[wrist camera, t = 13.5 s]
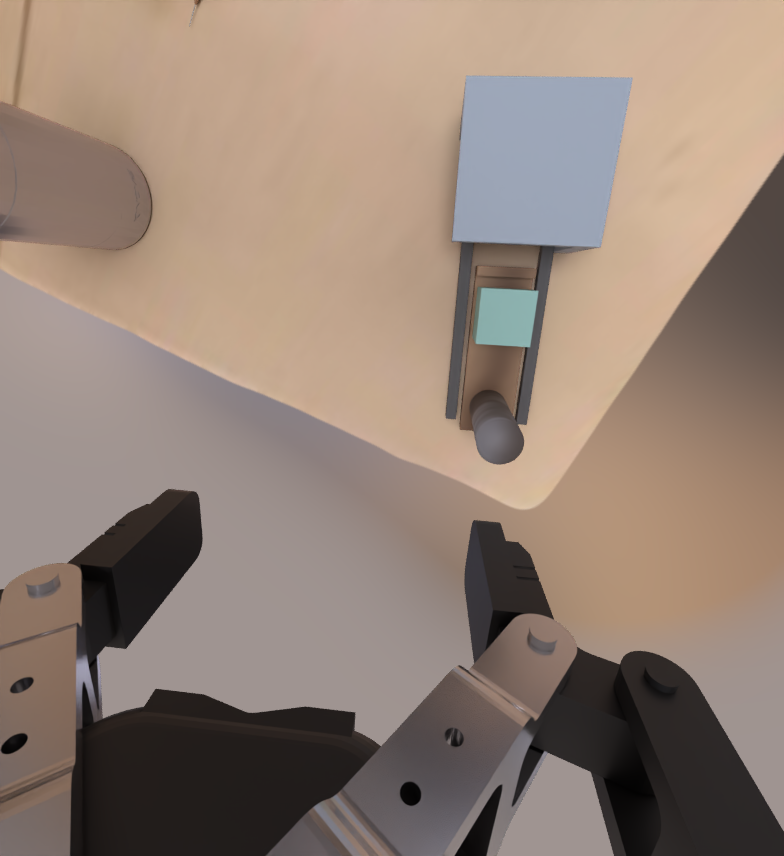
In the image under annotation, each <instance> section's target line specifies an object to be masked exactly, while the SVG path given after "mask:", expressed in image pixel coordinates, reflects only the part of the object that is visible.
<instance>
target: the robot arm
mask: <svg viewBox="0 0 784 856" xmlns="http://www.w3.org/2000/svg"><path fill="white" fill-rule="evenodd" d="M150 215H151V198H150V193H149V188H148V186H147V183H146V181H145V178H144V176H143V174H142V173H141V171H140V169H139V168H138V166H137V165H136V164H135V163H134V161H133V160H132V159H131V158H130V157H129V156H128V155H127V154H125V153H124V152H123V151H122V150H120V149H118V148H116V147H114V146H112V145H110V144H108V143H105V142H102V141H100V140H97V139H95V138H92V137H90V136H87V135H85V134H82V133H80V132H78V131H75V130H73V129H70V128H68V127H65V126H63V125H60V124H58V123H55V122H53V121H50V120H48V119H45V118H43V117H40V116H38V115H35V114H32V113H30V112H27V111H25V110H22V109H20V108H17V107H15V106H12V105H10V104H7V103H5V102H2V101H0V240H3V241H15V242H27V243H39V244H51V245H63V246H75V247H85V248H98V249H112V250H118V249H124V248H127V247H129V246H131V245H133V244H135V243H136V242H137V241H138V240H139V239H140V238H141V237H142V235H143V234H144V232H145V231H146V229H147V226H148V224H149V221H150ZM201 547H202V527H201V514H200V503H199V497H198V494H197V493H196V492H194V491H184V490H174V489H168V490H166V491H165V492H164V493H162V494H161V495H160V496H159V497H158V498H157V499H155V500H154V501H153V502H152V503H151V504H146V505H144V506H142V507H140V508H137V509H135V510H133V511H131V512H129V513H128V514H126V515H125V516H124V517H123V518H122V519H120V520H119V521H118V522H117V523H116V525H115V526H112V527H111V528H109V529H108V530H107V531H106V532H105V534H104V535H101V536H100V537H98V538H97V539H96V540H95V541H94V542H92V543H91V544H90V545H89V546H87V547H86V548H85V549H84V550H83V551H82V552H80V553H79V554H78V555H76V556H75V557H74V558H73V559H72V560H70V561H69V562H68V563H56V564H49V565H45V566H41V567H38V568H35V569H32V570H30V571H27V572H25V573H24V574H21V575H20V576H18V577H16V578H15V579H14V580H12V581H11V582H10V583H9V584H8V585H7V586H6V587H5V589H1V590H0V856H497V853H498V851H499V849H500V846H501V844H502V841H503V838H504V836H505V833H506V831H507V829H508V826H509V824H510V822H511V820H512V818H513V816H514V815H515V813H516V811H517V809H518V807H519V805H520V803H521V802H522V800H523V797H524V796H525V794H526V792H527V791H528V789H529V787H530V785H531V783H532V781H533V779H534V778H535V776H536V774H537V772H538V770H539V768H540V766H541V765H542V763H543V761H544V759H545V757H546V755H547V754H548V753H550V754H552V755H554V756H557V757H559V758H561V759H563V760H566V761H568V762H570V763H572V764H574V765H577V766H579V767H581V768H584V769H586V770H588V771H590V772H591V774H592V777H593V781H594V784H595V788H596V792H597V795H598V799H599V803H600V806H601V810H602V813H603V817H604V821H605V824H606V828H607V832H608V835H609V839H610V843H611V846H612V850H613V854H614V856H784V831H783V830H782V828H781V826H780V825H779V823H778V821H777V819H776V818H775V816H774V814H773V813H772V811H771V809H770V808H769V806H768V804H767V803H766V801H765V799H764V797H763V796H762V794H761V792H760V791H759V789H758V787H757V785H756V784H755V782H754V780H753V779H752V777H751V775H750V774H749V772H748V770H747V769H746V767H745V765H744V763H743V762H742V760H741V758H740V757H739V755H738V753H737V752H736V750H735V748H734V747H733V745H732V743H731V741H730V740H729V738H728V736H727V735H726V733H725V731H724V729H723V728H722V726H721V725H720V723H719V721H718V719H717V718H716V716H715V714H714V712H713V711H712V709H711V708H710V706H709V704H708V702H707V701H706V699H705V697H704V696H703V694H702V692H701V690H700V689H699V687H698V686H697V684H696V683H695V681H694V680H693V679H692V678H691V677H690V675H688V674H687V673H686V672H685V671H684V670H683V669H682V668H681V667H679V666H678V665H676V664H675V663H673V662H672V661H670V660H668V659H666V658H664V657H662V656H660V655H657V654H654V653H650V652H645V651H633V652H630V653H628V654H626V655H625V656H624V657H623V659H622V660H621V663H620V665H619V664H617V663H614V662H611V661H608V660H605V659H603V658H600V657H597V656H594V655H592V654H589V653H587V652H585V651H583V650H581V649H580V648H578V647H577V644H576V642H575V639H574V638H573V636H572V635H571V633H570V632H569V631H568V630H567V629H566V628H565V627H564V626H563V625H561V624H560V623H558V622H557V621H555V620H554V618H553V615H552V613H551V610H550V608H549V605H548V602H547V599H546V596H545V594H544V591H543V588H542V586H541V583H540V582H539V578H538V575H537V572H536V570H535V567H534V564H533V561H532V558H531V556H530V554H529V553H528V552H527V551H526V550H525V549H524V548H523V547H522V546H521V545H520V544H519V543H518V542H509V541H506V540H505V537H504V533H503V530H502V527H501V524H500V523H498V522H488V521H477V520H474V521H473V523H472V527H471V534H470V540H469V546H468V553H467V559H466V566H465V594H466V602H467V609H468V618H469V626H470V633H471V642H472V650H473V658H474V665H473V666H472V667H471V668H470V669H469V670H466V669H465V668H463V667H462V666H457V667H455V668H453V669H452V670H451V671H450V672H449V673H448V674H447V675H446V676H445V678H444V679H443V680H442V681H441V682H440V683H439V684H438V685H437V686H436V688H434V690H433V691H432V692H431V693H430V694H429V695H428V696H427V697H426V698H425V699H424V700H423V702H422V703H421V704H420V705H419V706H418V707H417V708H416V709H415V710H414V711H413V712H412V714H411V715H410V716H409V717H408V718H407V719H406V720H405V721H404V722H403V723H402V724H401V725H400V727H399V728H398V729H397V730H396V731H395V732H394V733H393V734H392V735H391V736H390V737H389V738H388V740H387V741H386V742H385V743H384V744H383V745H382V746H380V745H378V744H377V743H376V742H375V741H373V740H372V739H370V738H368V737H366V736H365V735H363V734H361V733H358V732H356V731H354V727H355V713H354V712H345V711H338V710H329V709H320V708H312V707H299V708H291V709H283V710H275V711H268V712H259V713H247V712H244V711H242V710H239V709H237V708H235V707H232V706H230V705H228V704H225V703H223V702H220V701H218V700H215V699H213V698H211V697H209V696H206V695H202V694H195V693H187V692H178V691H169V690H161V689H155V691H154V692H153V694H152V695H151V697H150V699H149V700H148V702H147V703H146V705H145V706H144V707H140V708H135V709H131V710H126V711H123V712H120V713H117V714H114V715H111V716H108V717H106V718H104V719H103V715H102V695H101V676H100V675H101V674H100V663H99V657H98V654H99V653H100V652H101V651H102V650H103V648H104V647H105V646H106V647H115V648H123V649H126V648H127V647H128V645H129V644H130V643H131V642H132V641H133V639H134V638H135V637H136V635H137V634H138V633H139V632H140V630H141V629H142V628H143V626H144V625H145V624H146V623H147V621H148V620H149V619H150V618H151V616H152V615H153V614H154V613H155V611H156V610H157V609H158V607H159V606H160V605H161V604H162V602H163V601H164V600H165V598H166V597H167V596H168V595H169V594H170V592H171V591H172V590H173V588H174V587H175V586H176V585H177V583H178V582H179V581H180V580H181V578H182V577H183V576H184V574H185V573H186V572H187V571H188V569H189V568H190V567H191V566H192V564H193V563H194V562H195V560H196V559H197V557H198V556H199V553H200V550H201Z"/></svg>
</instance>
